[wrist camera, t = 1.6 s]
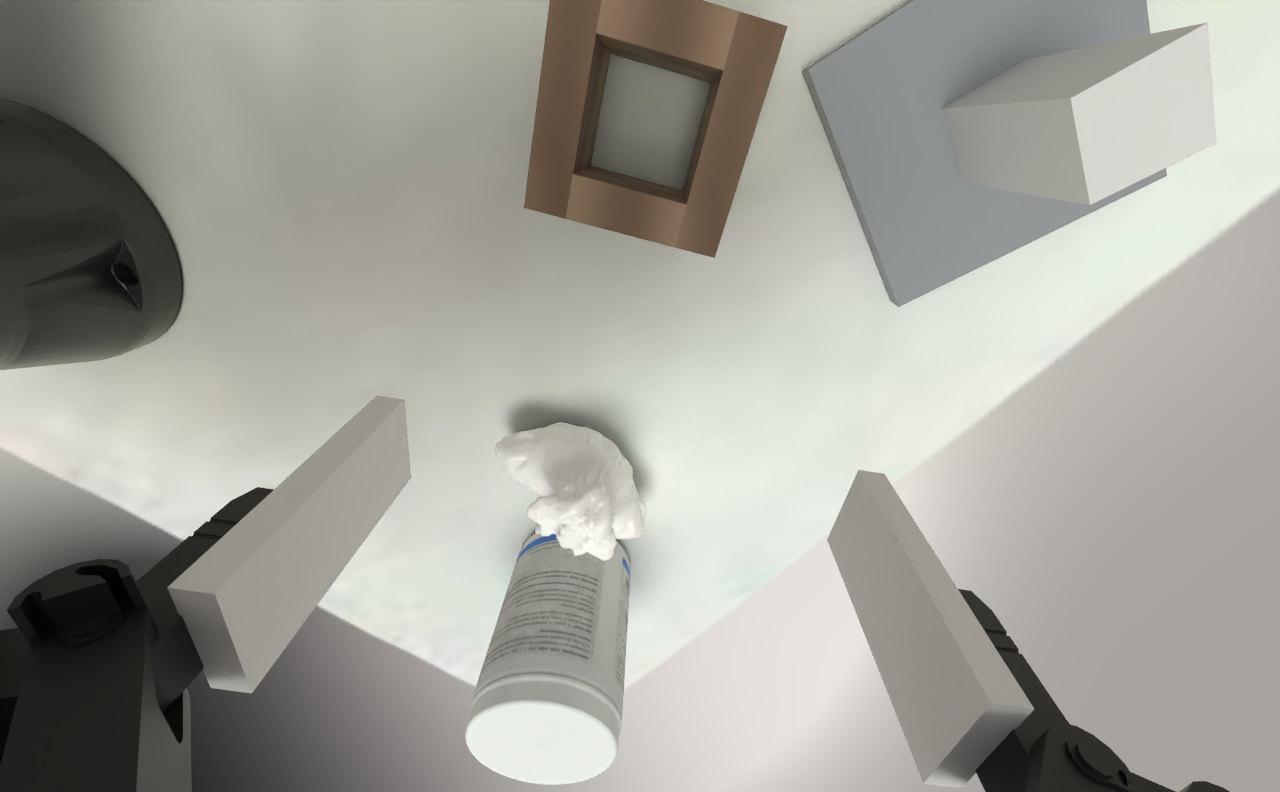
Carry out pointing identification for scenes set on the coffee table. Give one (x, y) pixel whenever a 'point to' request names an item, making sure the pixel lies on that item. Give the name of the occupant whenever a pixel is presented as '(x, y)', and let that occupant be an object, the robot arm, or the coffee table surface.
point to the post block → (1004, 124)
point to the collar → (669, 39)
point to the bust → (575, 486)
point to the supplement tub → (554, 667)
